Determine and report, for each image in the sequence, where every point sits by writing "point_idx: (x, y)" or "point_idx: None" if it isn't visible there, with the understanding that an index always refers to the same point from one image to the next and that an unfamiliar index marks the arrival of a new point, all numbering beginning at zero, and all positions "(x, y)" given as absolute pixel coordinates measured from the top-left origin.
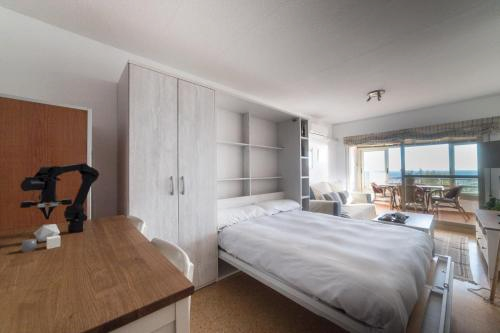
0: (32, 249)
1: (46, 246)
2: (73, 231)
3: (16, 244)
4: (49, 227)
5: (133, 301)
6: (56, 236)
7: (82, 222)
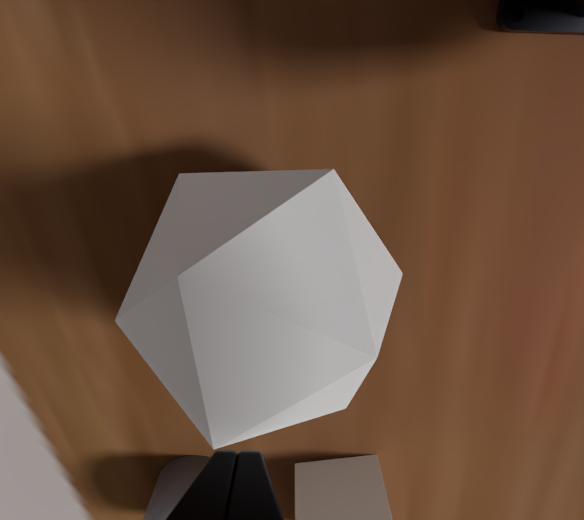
0: None
1: (295, 473)
2: (566, 5)
3: (16, 224)
4: (293, 415)
5: None
6: None
7: None
